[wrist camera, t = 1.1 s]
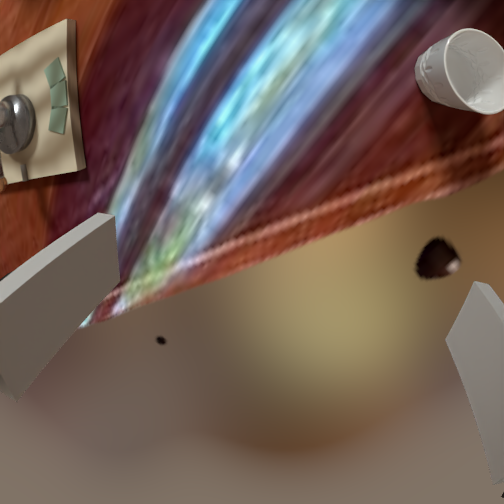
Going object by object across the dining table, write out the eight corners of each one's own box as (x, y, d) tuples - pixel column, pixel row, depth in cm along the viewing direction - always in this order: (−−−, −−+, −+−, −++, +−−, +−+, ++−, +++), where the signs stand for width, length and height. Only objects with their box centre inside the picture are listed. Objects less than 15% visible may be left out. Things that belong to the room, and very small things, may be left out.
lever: (-2, 62, 31) (-32, 64, 25) (32, 42, 29) (-1, 41, 23) (10, 184, 40) (-19, 197, 34) (44, 178, 38) (12, 191, 32)
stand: (-14, 69, 33) (-35, 72, 29) (75, 20, 30) (51, 15, 25) (-2, 184, 43) (-23, 194, 38) (86, 168, 39) (62, 178, 34)
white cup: (438, 122, 29) (480, 131, 21) (395, 67, 28) (426, 55, 19) (479, 87, 26) (526, 87, 17) (439, 32, 25) (478, 14, 16)
